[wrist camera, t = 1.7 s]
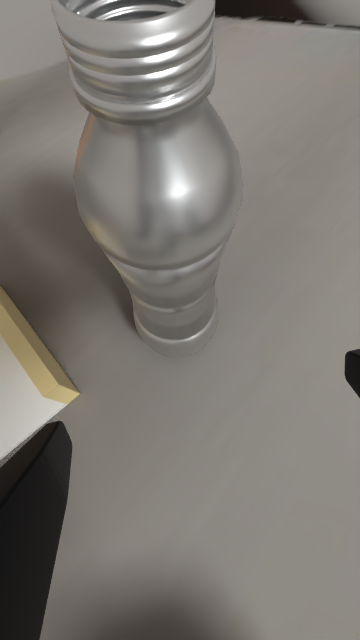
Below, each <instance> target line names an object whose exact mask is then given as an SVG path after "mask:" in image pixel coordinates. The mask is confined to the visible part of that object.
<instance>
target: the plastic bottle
mask: <svg viewBox="0 0 360 640" xmlns="http://www.w3.org/2000/svg"><path fill="white" fill-rule="evenodd" d="M51 2H52V3H51V4H52V11H53V14H54V18H55V21H56V24H57V27H58V30H59V33H60V36H61V39H62V42H63V45H64V48H65V51H66V54H67V57H68V60H69V65H68V70H69V76H70V79H71V82H72V85H73V88H74V91H75V94H76V96H77V98H78V100H79V102H80V104H81V105H82V106H83V107H84V108H85V109H86V110H87V111H89V115H88V118H87V120H86V123H85V126H84V129H83V132H82V135H81V138H80V141H79V146H78V151H77V156H76V161H75V166H74V174H73V178H74V186H75V194H76V202H77V209H78V212H79V214H80V217H81V219H82V221H83V223H84V225H85V226H86V228H87V229H88V231H89V233H90V234H91V236H92V238H93V239H94V240H95V242H96V243H97V244H98V246H99V247H100V248H101V249H102V251H103V252H104V253H105V255H106V256H107V257H108V258H109V260H110V261H111V262H112V264H113V265H114V266H115V268H116V269H117V270H118V272H119V273H120V275H121V277H122V279H123V281H124V283H125V284H126V286H127V288H128V290H129V292H130V295H131V299H132V303H133V315H134V321H135V326H136V329H137V331H138V334H139V335H140V337H141V338H142V340H143V341H144V342H145V343H146V344H147V345H148V346H149V347H151V348H152V349H154V350H155V351H157V352H158V353H160V354H163V355H166V356H170V357H184V356H188V355H191V354H193V353H195V352H197V351H199V350H200V349H201V348H203V347H204V346H205V344H206V343H207V342H208V341H209V340H210V339H211V337H212V336H213V334H214V332H215V330H216V327H217V324H218V317H219V312H218V302H217V297H216V294H215V280H216V275H217V272H218V267H219V263H220V259H221V257H222V254H223V252H224V249H225V247H226V244H227V242H228V239H229V237H230V235H231V232H232V229H233V228H234V225H235V222H236V219H237V216H238V212H239V209H240V205H241V202H242V199H243V187H244V185H243V178H242V171H241V165H240V159H239V154H238V151H237V149H236V147H235V144H234V142H233V140H232V138H231V136H230V134H229V132H228V130H227V128H226V126H225V124H224V123H223V121H222V119H221V117H220V116H219V114H218V113H217V111H216V110H215V108H214V107H213V106H212V104H211V103H210V101H209V100H208V98H207V96H208V95H209V94H210V92H211V90H212V88H213V86H214V82H215V74H216V51H215V47H214V45H213V35H214V15H215V0H51Z"/></svg>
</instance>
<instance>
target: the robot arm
mask: <svg viewBox="0 0 360 640" xmlns="http://www.w3.org/2000/svg"><path fill="white" fill-rule="evenodd" d="M345 378H346V380H347V382H348V383H349V384H350V386H351V387H352V388H353V390H354V391H355V392H356V394H357V395H358V396H359V398H360V349H357V350H352V351H348V352H347V353H346V355H345ZM71 457H72V442H71V439H70V437H69V435H68V432H67V430H66V428H65V426H64V424H63V422H62V421H56V422H52V423H48V424H46V425H45V426H44V427H43V428H42V429H41V430H40V431H39V432H38V433H37V434H36V435H34V436H33V437H32V438H31V439H30V440H29V441H28V442H27V443H26V444H25V445H24V446H23V447H22V448H21V449H20V450H19V451H17V452H16V453H15V454H14V455H13V456H12V457H11V458H10V459H9V460H8V461H7V462H6V463H5V464H4V465H3V466H2V467H0V640H39V639H40V634H41V629H42V624H43V619H44V614H45V609H46V604H47V599H48V594H49V589H50V584H51V579H52V574H53V569H54V564H55V559H56V554H57V549H58V544H59V539H60V534H61V530H62V525H63V520H64V515H65V510H66V504H67V498H68V489H69V479H70V468H71Z"/></svg>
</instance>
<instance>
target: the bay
mask: <svg viewBox="0 0 360 640" xmlns="http://www.w3.org/2000/svg"><path fill="white" fill-rule="evenodd" d="M78 395H80V393H79V391H78V390H77V388H76V387H75V386H74V384H73V383H72V382H71V380H70V379H69V378H68V376H67V375H66V374H65V372H64V371H63V369H62V368H61V367H60V365H59V364H58V363H57V361H56V360H55V359H54V357H53V356H52V354H51V353H50V352H49V350H48V349H47V348H46V346H45V345H44V344H43V342H42V341H41V340H40V338H39V337H38V335H37V334H36V333H35V331H34V330H33V329H32V327H31V326H30V325H29V323H28V322H27V320H26V319H25V318H24V316H23V315H22V314H21V312H20V311H19V310H18V308H17V307H16V306H15V304H14V303H13V301H12V300H11V299H10V297H9V296H8V295H7V293H6V292H5V291H4V289H3V288H2V286H1V285H0V460H1V459H2V458H4V457H5V456H6V455H7V454H8V453H10V452H11V451H12V450H13V449H14V448H16V447H17V446H18V445H19V444H20V443H22V442H23V441H24V440H25V439H26V438H28V437H29V436H30V435H31V434H32V433H34V432H35V431H36V430H37V429H39V428H40V427H41V426H42V425H43V424H45V423H46V422H47V421H48V420H49V419H51V418H52V417H53V416H54V415H55V414H57V413H58V412H59V411H60V410H61V409H63V408H64V407H65V406H66V405H67V404H69V403H70V402H71V401H72V400H73V399H75V398H76V397H77V396H78Z"/></svg>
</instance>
